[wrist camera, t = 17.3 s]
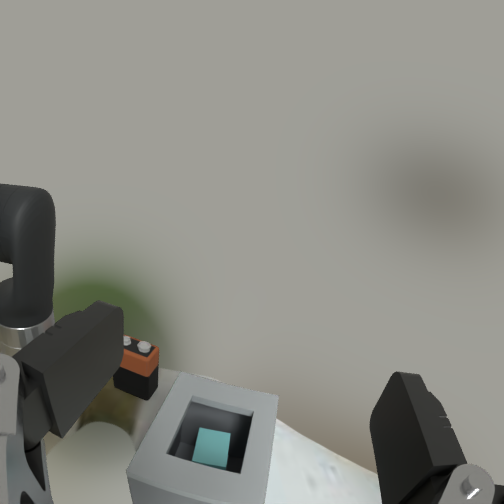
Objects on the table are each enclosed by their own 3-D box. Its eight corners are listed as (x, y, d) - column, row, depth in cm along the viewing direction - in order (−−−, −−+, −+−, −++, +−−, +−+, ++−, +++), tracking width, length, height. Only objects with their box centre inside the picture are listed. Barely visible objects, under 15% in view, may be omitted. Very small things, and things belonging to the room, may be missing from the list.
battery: (148, 402, 46) (148, 356, 43) (112, 387, 47) (109, 341, 44) (158, 387, 50) (160, 341, 47) (124, 373, 51) (123, 328, 48)
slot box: (137, 523, 25) (126, 470, 21) (175, 439, 40) (180, 371, 36) (237, 551, 24) (263, 509, 20) (255, 459, 39) (278, 395, 35)
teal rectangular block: (187, 499, 30) (191, 460, 27) (193, 470, 34) (199, 427, 31) (215, 504, 30) (226, 467, 27) (219, 475, 34) (230, 433, 31)
